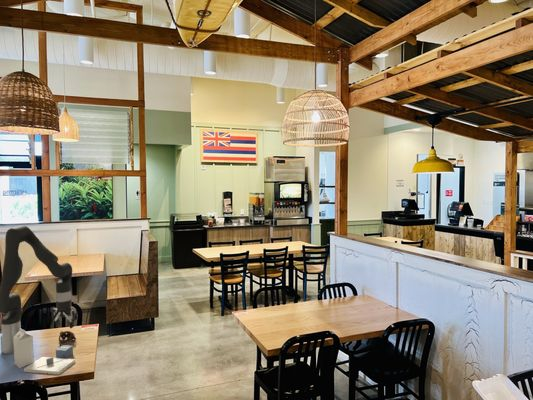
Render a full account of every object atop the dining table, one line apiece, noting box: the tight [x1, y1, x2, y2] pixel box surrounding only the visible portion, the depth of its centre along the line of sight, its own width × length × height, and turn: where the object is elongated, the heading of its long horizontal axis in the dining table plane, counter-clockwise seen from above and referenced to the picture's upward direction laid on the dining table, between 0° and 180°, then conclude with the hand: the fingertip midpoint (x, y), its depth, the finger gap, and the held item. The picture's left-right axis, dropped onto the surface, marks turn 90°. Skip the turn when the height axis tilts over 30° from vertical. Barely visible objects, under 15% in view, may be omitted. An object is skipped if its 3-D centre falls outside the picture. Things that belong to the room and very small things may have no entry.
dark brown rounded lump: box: [58, 330, 77, 347], centre depth 232 cm, size 12×10×8 cm
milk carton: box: [13, 328, 35, 369], centre depth 206 cm, size 7×7×19 cm
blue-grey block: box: [55, 344, 74, 359], centre depth 215 cm, size 6×6×5 cm
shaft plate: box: [23, 356, 76, 375], centre depth 203 cm, size 20×13×5 cm, turn 81°
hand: (64, 327), depth 214 cm, fingers open, 8 cm apart
